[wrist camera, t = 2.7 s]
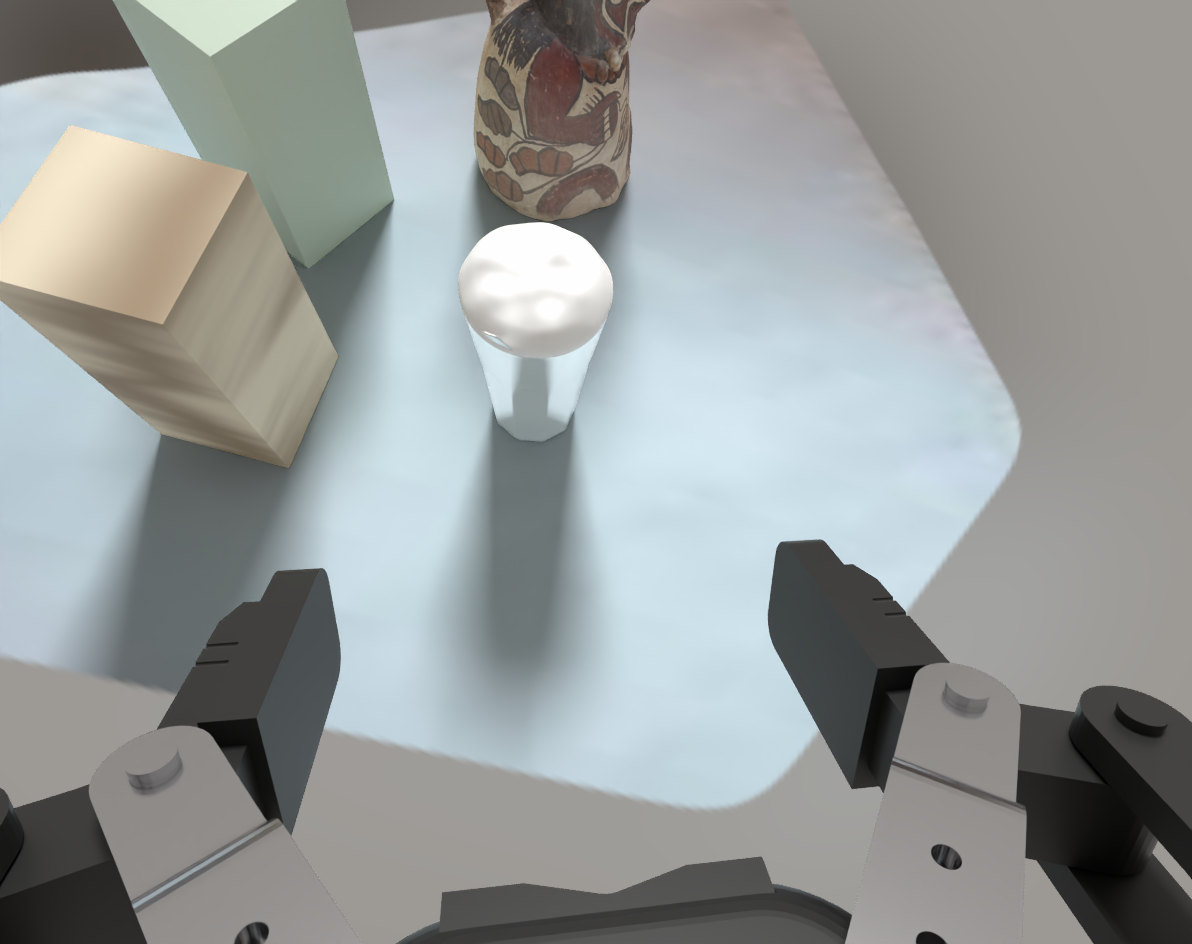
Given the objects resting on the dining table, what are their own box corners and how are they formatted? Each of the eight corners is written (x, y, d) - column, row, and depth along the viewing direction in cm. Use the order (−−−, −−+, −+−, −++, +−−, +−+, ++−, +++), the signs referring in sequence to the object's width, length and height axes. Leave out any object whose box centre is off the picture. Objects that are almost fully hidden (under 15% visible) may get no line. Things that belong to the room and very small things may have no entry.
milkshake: (448, 449, 28) (407, 302, 18) (505, 340, 30) (495, 156, 20) (555, 494, 27) (571, 368, 18) (606, 381, 29) (644, 214, 20)
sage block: (226, 202, 31) (95, -31, 21) (313, 138, 32) (227, -105, 23) (308, 269, 30) (210, 56, 21) (394, 199, 32) (338, -27, 22)
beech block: (161, 434, 27) (-33, 272, 18) (218, 324, 29) (69, 124, 19) (289, 468, 27) (163, 324, 18) (338, 356, 29) (247, 172, 19)
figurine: (597, 244, 32) (636, -25, 21) (450, 190, 32) (409, -105, 21) (649, 133, 34) (708, -161, 23) (512, 84, 35) (505, -230, 23)
